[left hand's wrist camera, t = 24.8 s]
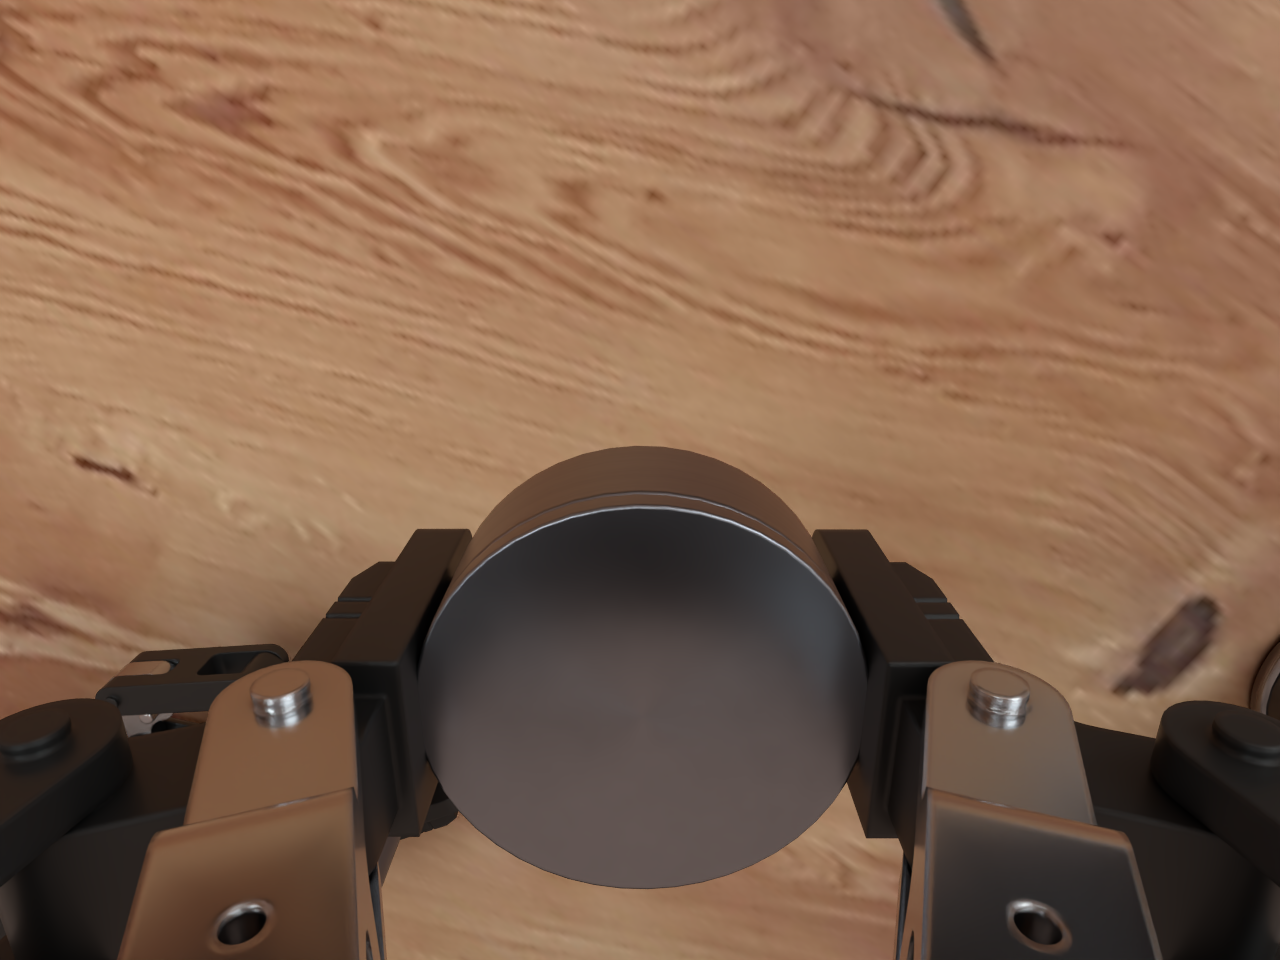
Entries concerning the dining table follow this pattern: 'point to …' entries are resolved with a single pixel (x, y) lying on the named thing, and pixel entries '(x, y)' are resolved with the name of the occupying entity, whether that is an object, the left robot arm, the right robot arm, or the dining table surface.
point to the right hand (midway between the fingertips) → (434, 734)
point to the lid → (642, 673)
